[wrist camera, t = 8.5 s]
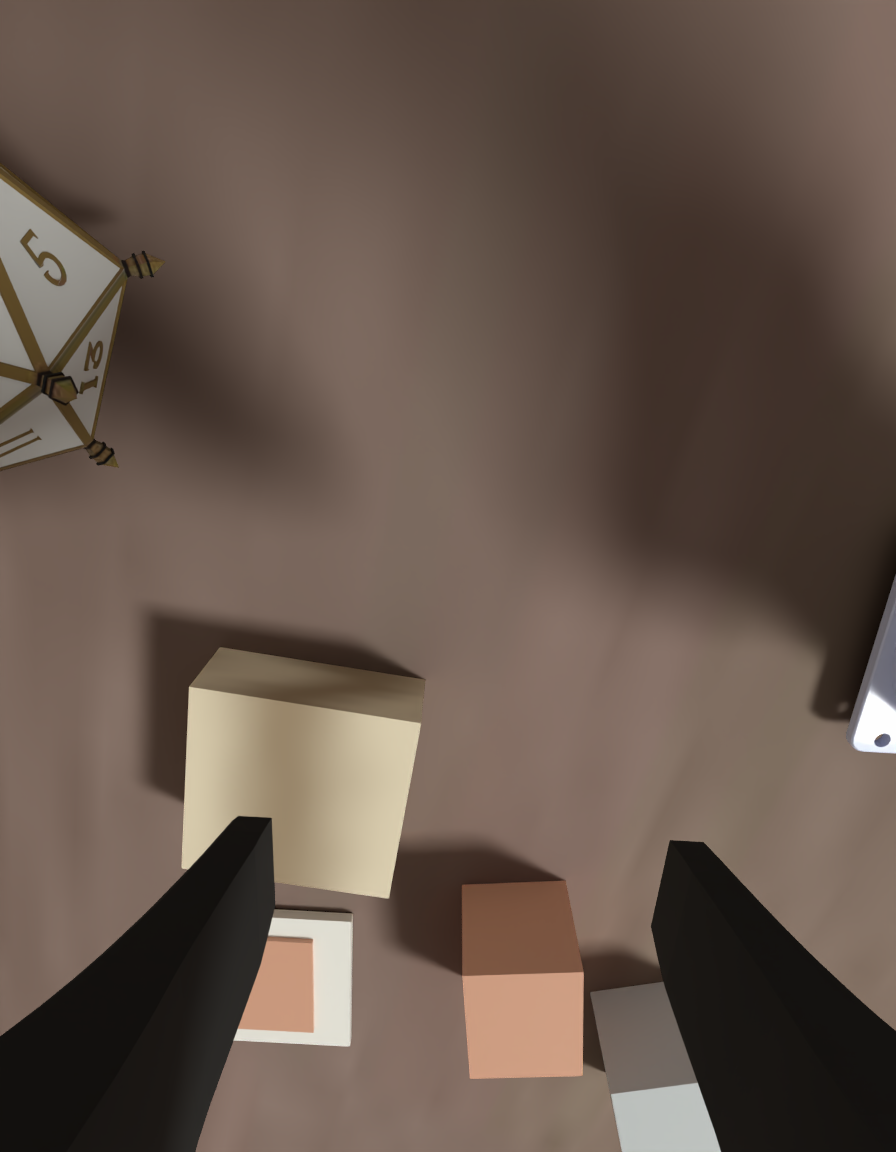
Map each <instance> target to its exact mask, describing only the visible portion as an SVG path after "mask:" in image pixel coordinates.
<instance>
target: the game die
mask: <svg viewBox="0 0 896 1152" xmlns="http://www.w3.org/2000/svg"><path fill="white" fill-rule="evenodd" d="M164 263H165V261H163V260H160V259H158V258H156V257H153V256H151V255H148V254H146V253H145V251H142V254H139V255H135V254H134V253H133V254H132V257H130V258H129V259H127V260H125V261H124V260H120V259H119V258H117V257H116V256H115V255H114V254H112V253H111V252H110V251H109V250H107V249H106V248H105V247H104V246H103V245H101V244H100V243H99V242H98V241H96V240H95V239H94V238H93V237H91V236H90V235H89V234H88V233H86V232H85V231H84V230H83V229H82V228H80V227H79V226H78V225H77V224H75V223H74V222H73V221H72V220H70V219H69V218H68V217H67V216H65V215H64V214H63V213H62V212H60V211H59V210H58V209H57V208H56V207H54V206H53V205H52V204H51V203H49V202H48V201H47V200H46V199H44V198H43V197H42V196H41V195H39V194H38V193H37V192H36V191H34V190H33V189H32V188H31V187H30V186H28V185H27V184H26V183H25V182H23V181H22V180H21V179H20V178H18V177H17V176H16V175H15V174H13V173H12V172H11V171H10V170H9V169H7V168H6V167H5V166H4V165H2V164H1V163H0V471H2V470H6V469H9V468H13V467H17V466H20V465H24V464H27V463H31V462H34V461H38V460H42V459H45V458H49V457H52V456H56V455H60V454H63V453H67V452H70V451H74V450H77V449H81V448H84V449H86V450H87V452H88V453H89V455H90V456H89V458H90V459H94V460H95V461H96V462H97V465H107V466H113V467H118V464H117V462H116V459H115V457H114V454H115V453H114V450H113V449H112V448H110V449H109V448H108V447H107V446H106V444H105V443H104V442H103V443H101V442H98V441H96V440H95V439H94V434H95V429H96V424H97V420H98V415H99V410H100V406H101V401H102V396H103V391H104V387H105V382H106V377H107V372H108V368H109V363H110V358H111V354H112V349H113V344H114V339H115V335H116V330H117V325H118V320H119V316H120V311H121V306H122V302H123V297H124V292H125V287H126V283H127V278H128V277H130V276H138V277H140V278H141V279H142V278H143V276H148V275H150V276H151V277H154V276H153V274H154V273H155V272H156V271H157V270H158V269H159V268H160V267H161V266H162V265H163V264H164ZM118 468H119V467H118Z"/></svg>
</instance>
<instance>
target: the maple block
mask: <svg viewBox="0 0 896 1152" xmlns="http://www.w3.org/2000/svg"><path fill="white" fill-rule="evenodd" d="M424 689H425V680H424V679H418V678H412V677H405V676H399V675H393V674H386V673H380V672H374V671H368V670H361V669H355V668H349V667H342V666H336V665H330V664H323V663H317V662H311V661H305V660H298V659H292V658H286V657H279V656H273V655H267V654H260V653H254V652H248V651H242V650H235V649H229V648H223V647H220V648H219V649H218V650H217V651H216V653H215V654H214V655H213V657H212V658H211V659H210V660H209V662H208V663H207V664H206V666H205V667H204V668H203V669H202V671H201V672H200V673H199V675H198V676H197V677H196V678H195V680H194V681H193V682H192V684H191V685H190V686H189V701H188V725H187V749H186V774H185V798H184V822H183V846H182V869H189V868H190V867H191V866H192V865H193V864H194V863H195V862H196V861H197V859H198V858H199V857H200V856H201V855H202V854H203V853H204V852H205V851H206V850H207V848H208V847H209V846H210V845H211V844H212V843H213V842H214V841H215V839H216V838H217V837H218V836H219V835H220V834H221V833H222V832H223V830H224V829H225V828H226V827H227V826H228V825H229V824H230V823H231V821H232V820H234V819H235V818H236V817H237V816H249V817H267V818H272V835H273V860H274V882H278V883H285V884H292V885H299V886H305V887H312V888H319V889H326V890H333V891H340V892H347V893H353V894H360V895H367V896H374V897H381V898H388V899H389V895H390V889H391V884H392V878H393V873H394V868H395V862H396V857H397V851H398V846H399V840H400V835H401V830H402V824H403V819H404V813H405V808H406V802H407V797H408V792H409V786H410V781H411V775H412V770H413V764H414V759H415V754H416V748H417V743H418V737H419V732H420V726H421V719H422V709H423V699H424Z"/></svg>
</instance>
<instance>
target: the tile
mask: <svg viewBox="0 0 896 1152" xmlns="http://www.w3.org/2000/svg"><path fill="white" fill-rule="evenodd" d="M352 944H353V914H352V913H334V912H316V911H298V910H280V909H274V913H273V917H272V921H271V925H270V930H269V934H268V938H267V942H266V946H265V950H264V954H263V958H262V961H261V965H260V968H259V971H258V974H257V977H256V979H255V982H254V985H253V988H252V991H251V993H250V996H249V999H248V1002H247V1005H246V1007H245V1010H244V1013H243V1016H242V1018H241V1021H240V1024H239V1027H238V1029H237V1032H236V1035H235V1038H234V1040H238V1041H256V1042H275V1043H294V1044H312V1045H331V1046H350V1042H351V1021H352Z"/></svg>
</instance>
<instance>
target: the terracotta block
mask: <svg viewBox="0 0 896 1152" xmlns="http://www.w3.org/2000/svg"><path fill="white" fill-rule="evenodd" d="M462 977H463V991H464V1004H465V1017H466V1031H467V1044H468V1057H469V1071H470V1079H482V1078H520V1077H559V1076H583V984H584V972H583V967H582V962H581V956H580V951H579V946H578V941H577V936H576V931H575V926H574V921H573V916H572V911H571V906H570V901H569V896H568V891H567V886H566V881H543V882H517V883H492V884H466V885H462Z"/></svg>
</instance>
